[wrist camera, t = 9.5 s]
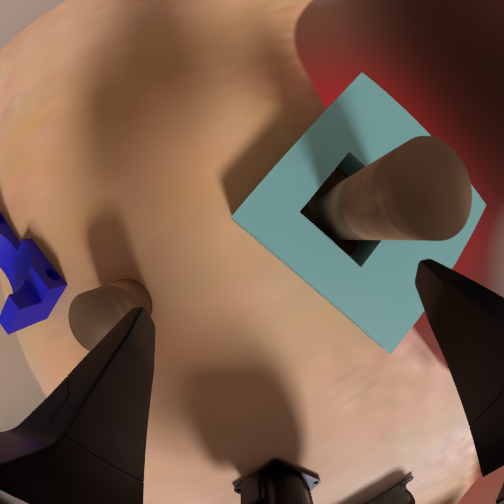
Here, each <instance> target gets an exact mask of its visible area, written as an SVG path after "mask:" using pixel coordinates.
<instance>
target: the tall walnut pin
mask: <svg viewBox="0 0 504 504" xmlns="http://www.w3.org/2000/svg"><path fill="white" fill-rule="evenodd" d="M471 206H472V189H471V183H470V179H469V176H468V173H467V170H466V168H465V166H464V164H463V162H462V160H461V159H460V157H459V156H458V155H457V153H456V152H455V151H454V150H453V149H452V148H451V147H450V146H449V145H447V144H446V143H445V142H443V141H442V140H440V139H437V138H435V137H431V136H418V137H414V138H412V139H410V140H409V141H407V142H405V143H404V144H402V145H400V146H399V147H397V148H395V149H394V150H392V151H390V152H389V153H387V154H385V155H384V156H382V157H380V158H379V159H377V160H376V161H374V162H372V163H371V164H369V165H367V166H366V167H364V168H363V169H361V170H359V171H358V172H356V173H354V174H353V175H351V176H349V177H348V178H346V179H345V180H343V181H341V182H340V183H338V184H337V185H335V186H333V187H332V188H330V189H328V190H327V191H325V192H324V193H323V194H322V195H321V196H320V197H319V199H318V201H317V203H316V206H315V219H316V222H317V224H318V226H319V228H320V229H321V231H322V232H323V233H324V234H325V235H327V236H328V237H330V238H333V239H337V240H409V241H445V240H448V239H451V238H453V237H454V236H456V235H457V234H458V233H459V232H460V231H461V230H462V229H463V227H464V226H465V224H466V222H467V220H468V218H469V215H470V211H471Z"/></svg>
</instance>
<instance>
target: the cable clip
mask: <svg viewBox="0 0 504 504" xmlns="http://www.w3.org/2000/svg"><path fill="white" fill-rule="evenodd" d="M0 268H1V269H2V270H3V271H4V273H5V274H6V276H7V278H8V279H9V282H10V284H11V286H12V290H13V294H10V295H9V296H8V298H7V300H6V303H5V305H4V307H3V310H2V313H1V315H0V324H1V325H2V326H3V328H4V329H5V331H6V332H7V333H8V334H11V333H13V332H15V331H18V330H20V329H23V328H25V327H27V326H30V325H32V324H35V323H37V322H39V321H42V320H44V319H47V318H48V316H49V314H50V313H51V311H52V309H53V307H54V306H55V304H56V302H57V301H58V299H59V298H60V296H61V294H62V293H63V291H64V289H65V288H66V286H67V283H66V282H65V281H64V280H63V279H62V277H61V276H60V275H59V274H58V272H57V271H56V270H55V269H54V267H53V266H52V265H51V264H50V262H49V261H48V260H47V258H46V257H45V256H44V254H43V253H42V252H41V250H40V249H39V248H38V246H37V245H36V244H35V242H34V241H33V239H23V240H22V242H21V244H20V242H19V241H18V239H17V237H16V236H15V234H14V233H13V231H12V230H11V228H10V227H9V225H8V223H7V222H6V220H5V218H4V217H3V215H2V213H1V212H0Z"/></svg>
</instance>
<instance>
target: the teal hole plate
mask: <svg viewBox="0 0 504 504" xmlns="http://www.w3.org/2000/svg"><path fill="white" fill-rule="evenodd" d="M418 136H430V134H429V133H428V132H427V131H426V130H425V129H424V128H423V127H422V126H421V125H420V124H419V123H418V122H417V121H416V120H415V119H414V118H413V117H412V116H411V115H410V114H409V113H408V112H407V111H406V110H405V109H404V108H403V107H402V106H401V105H399V104H398V103H397V102H396V101H395V100H394V99H393V98H392V97H391V96H390V95H389V94H387V93H386V92H385V91H384V90H383V89H381V87H379V86H378V85H377V84H376V83H374V82H373V81H372V80H371V79H370V78H368V77H367V76H366V75H365V74H364V73H361V74H360V75H359V76H358V77H357V78H356V79H355V80H354V81H353V82H352V83H351V84H350V85H349V86H348V87H347V88H346V89H345V90H344V92H343V93H342V94H341V95H340V96H339V97H338V98H337V99H336V100H335V101H334V102H333V103H332V104H331V105H330V106H329V107H328V108H327V109H326V111H325V112H324V113H323V114H322V115H321V116H320V117H319V118H318V119H317V120H316V121H315V122H314V123H313V125H312V126H311V127H310V128H309V129H308V130H307V131H306V132H305V133H304V134H303V135H302V137H301V138H300V139H299V140H298V141H297V142H296V143H295V144H294V145H293V146H292V148H291V149H290V150H289V151H288V152H287V153H286V154H285V155H284V157H283V158H282V159H281V160H280V161H279V162H278V163H277V164H276V166H275V167H274V168H273V169H272V170H271V171H270V172H269V173H268V175H267V176H266V177H265V178H264V179H263V180H262V181H261V183H260V184H259V185H258V186H257V187H256V188H255V189H254V191H253V192H252V193H251V194H250V195H249V196H248V198H247V199H246V200H245V201H244V202H243V203H242V205H241V206H240V207H239V208H238V209H237V210H236V212H235V213H234V214H233V215H232V216H231V218H232V220H233V221H234V222H236V223H237V224H238V225H239V226H240V227H242V228H243V229H244V230H245V231H246V232H247V233H249V234H250V235H251V236H252V237H253V238H255V239H256V240H257V241H258V242H259V243H260V244H262V245H263V246H264V247H265V248H266V249H268V250H269V251H270V252H271V253H272V254H273V255H275V256H276V257H277V258H278V259H279V260H281V261H282V262H283V263H284V264H285V265H286V266H288V267H289V268H290V269H291V270H292V271H293V272H295V273H296V274H297V275H298V276H299V277H301V278H302V279H303V280H304V281H305V282H306V283H308V284H309V285H310V286H311V287H312V288H313V289H315V290H316V291H317V292H318V293H319V294H320V295H322V296H323V297H324V298H325V299H326V300H327V301H329V302H330V303H331V304H332V305H333V306H334V307H335V308H337V309H338V310H339V311H340V312H341V313H342V314H344V315H345V316H346V317H347V318H348V319H349V320H351V321H352V322H353V323H354V324H355V325H356V326H357V327H359V328H360V329H361V330H362V331H363V332H364V333H365V334H367V335H368V336H369V337H370V338H371V339H372V340H374V341H375V342H376V343H377V344H378V345H380V346H381V347H382V348H383V349H385V350H386V351H387V352H388V353H389V354H391V353H392V352H393V350H394V349H395V348H396V347H397V346H398V344H399V343H400V342H401V341H402V339H403V338H404V337H405V335H406V334H407V333H408V332H409V330H410V329H411V328H412V326H413V325H414V324H415V322H416V321H417V320H418V318H419V317H420V316H421V314H422V313H423V311H424V308H423V305H422V302H421V299H420V297H419V294H418V292H417V289H416V286H415V277H416V273H417V268H418V263H419V262H420V261H421V260H425V259H432V260H434V261H436V262H438V263H440V264H442V265H444V266H446V267H448V268H450V269H452V267H453V266H454V264H455V263H456V261H457V259H458V258H459V256H460V254H461V252H462V251H463V249H464V247H465V245H466V244H467V242H468V240H469V238H470V236H471V234H472V232H473V231H474V229H475V227H476V225H477V223H478V221H479V219H480V217H481V215H482V213H483V210H484V208H485V206H486V204H485V203H484V201H483V200H482V199H481V197H480V196H479V194H478V193H477V192H476V190H475V189H474V187H473V186H472V185H471V189H472V206H471V211H470V215H469V218H468V220H467V222H466V224H465V226H464V227H463V229H462V230H461V231H460V232H459V233H458V234H457V235H456V236H454V237H453V238H451V239H448V240H445V241H409V240H362V241H361V242H360V244H359V245H358V246H357V248H356V249H355V250H354V251H353V253H352V254H351V255H350V257H349V256H348V255H347V254H346V253H345V252H344V251H343V250H342V249H341V248H340V247H338V246H337V245H336V244H335V243H334V242H333V241H332V240H331V239H330V238H329V237H327V236H326V235H325V234H324V233H323V232H322V231H321V230H320V229H318V228H317V227H316V226H315V225H314V224H313V223H312V222H311V221H309V220H308V219H307V218H306V217H305V216H304V215H302V214H301V213H300V211H301V209H302V208H303V207H304V206H305V205H306V203H307V202H308V201H309V200H310V199H311V197H312V196H313V195H314V194H315V193H316V191H317V190H318V189H319V188H320V187H321V185H322V184H323V183H324V182H325V181H326V179H327V178H328V177H329V176H330V174H331V173H332V172H333V171H334V170H335V168H336V167H338V168H340V169H341V170H342V171H343V172H344V173H345V174H346V175H347V176H348V177H349V176H351V175H353V174H354V173H356V172H358V171H359V170H361V169H363V168H364V167H366V166H367V165H369V164H371V163H372V162H374V161H376V160H377V159H379V158H380V157H382V156H384V155H385V154H387V153H389V152H390V151H392V150H394V149H395V148H397V147H399V146H400V145H402V144H404V143H405V142H407V141H409V140H410V139H412V138H414V137H418Z"/></svg>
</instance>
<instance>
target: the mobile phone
mask: <svg viewBox="0 0 504 504" xmlns="http://www.w3.org/2000/svg"><path fill="white" fill-rule="evenodd" d="M412 479H413V476H411V475H410V476H409V477H408V478H406V479H405V480H404V481H402V482H401V483H400V484H398V485H397V486H395V487H394V488H392V489H391V490H389V491H387V492H385V493H384V494H382V495H381V496H379V497H377V498H375V499H373V500H372V501H370V502H368V503H366V504H415V500H414V497H413V496H412V494H411V493H410V492H409V491H408V490H407V489H406V484H407V483H408V482H409V481H411V480H412Z"/></svg>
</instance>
